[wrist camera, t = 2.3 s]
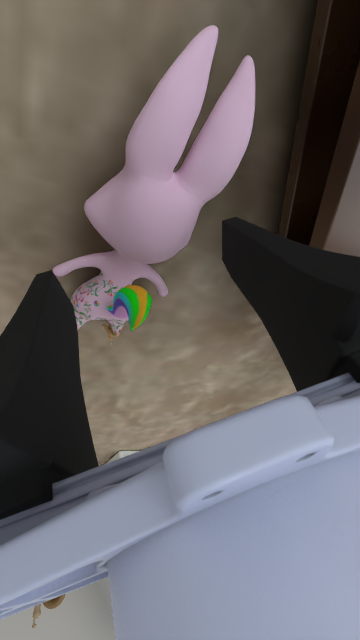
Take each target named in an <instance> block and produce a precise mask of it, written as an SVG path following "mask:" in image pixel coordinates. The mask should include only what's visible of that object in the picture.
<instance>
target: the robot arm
mask: <svg viewBox="0 0 360 640" xmlns="http://www.w3.org/2000/svg"><path fill="white" fill-rule="evenodd" d="M222 260H223V262H224V264H225V266H226V268H227V270H228V272H229V274H230V276H231V278H232V279H233V281H234V282H235V283H236V285H237V286H238V288H239V289H240V290H241V292H242V293H243V295H244V296H245V297H246V299H247V300H248V301H249V303H250V304H251V306H252V307H253V308H254V310H255V311H256V313H257V314H258V316H259V317H260V319H261V320H262V322H263V324H264V326H265V327H266V329H267V331H268V333H269V335H270V336H271V338H272V340H273V342H274V344H275V346H276V348H277V350H278V352H279V354H280V356H281V358H282V360H283V362H284V364H285V366H286V368H287V370H288V372H289V374H290V376H291V379H292V381H293V383H294V385H295V388H296V390H297V392H295V393H293V394H290V395H287V396H285V397H281V398H277V399H274V400H272V401H269V402H266V403H264V404H261V405H258V406H256V407H253V408H250V409H248V410H245V411H242V412H240V413H237V414H234V415H232V416H229V417H226V418H224V419H221V420H218V421H216V422H213V423H210V424H208V425H205V426H202V427H200V428H197V429H194V430H192V431H190V432H188V433H186V434H184V435H181V436H178V437H176V438H173V439H170V440H168V441H165V442H162V443H160V444H157V445H154V446H152V447H149V448H146V449H144V450H141V451H138V452H136V453H133V454H130V455H128V456H125V457H122V458H120V459H117V460H114V461H112V462H109V463H106V464H104V465H101V466H98V462H97V458H96V453H95V449H94V445H93V441H92V436H91V431H90V427H89V422H88V417H87V412H86V407H85V402H84V396H83V390H82V385H81V377H80V365H79V345H78V328H77V322H76V316H75V312H74V307H73V305H72V303H71V301H70V300H69V298H68V296H67V295H66V293H65V291H64V290H63V288H62V286H61V285H60V283H59V281H58V279H57V278H56V276H55V274H54V273H53V271H52V270H51V271H47V272H44V273H40V274H37V275H36V276H35V278H34V280H33V282H32V283H31V285H30V287H29V289H28V291H27V293H26V295H25V297H24V298H23V300H22V302H21V304H20V306H19V307H18V309H17V311H16V313H15V314H14V316H13V317H12V319H11V321H10V322H9V324H8V325H7V327H6V328H5V330H4V332H3V333H2V334H1V336H0V620H1V619H3V618H5V617H8V616H11V615H13V614H15V613H18V612H21V611H23V610H26V609H28V608H31V607H33V606H36V605H38V604H41V603H43V602H46V601H48V600H51V599H53V598H56V597H58V596H61V595H64V594H66V593H69V592H71V591H73V590H76V589H79V588H81V587H83V586H86V585H89V584H91V583H94V582H96V581H98V580H101V579H104V578H106V577H109V585H110V594H111V602H112V612H113V620H114V630H115V639H116V640H360V257H358V256H351V255H346V254H341V253H336V252H331V251H326V250H322V249H318V248H315V247H311V246H308V245H304V244H301V243H298V242H295V241H293V240H290V239H287V238H284V237H282V236H279V235H277V234H274V233H272V232H270V231H267V230H265V229H263V228H261V227H258V226H256V225H254V224H252V223H249V222H247V221H245V220H242V219H240V218H237V217H234V218H230V219H227V220H224V221H222Z"/></svg>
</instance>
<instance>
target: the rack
mask: <svg viewBox="0 0 360 640" xmlns="http://www.w3.org/2000/svg"><path fill="white" fill-rule="evenodd" d="M278 235H279V236H282V237H284V238H287V239H290V240H293V241H295V242H298V243H301V244H304V245H308V246H311V247H315V248H318V249H322V250H326V251H331V252H336V253H341V254H346V255H351V256H358V257H360V0H318V2H317V8H316V14H315V20H314V25H313V31H312V37H311V43H310V49H309V55H308V61H307V67H306V73H305V79H304V85H303V91H302V97H301V103H300V109H299V115H298V121H297V127H296V132H295V138H294V144H293V150H292V156H291V162H290V168H289V174H288V180H287V186H286V192H285V198H284V204H283V210H282V216H281V222H280V228H279V234H278Z"/></svg>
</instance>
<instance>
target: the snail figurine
mask: <svg viewBox="0 0 360 640" xmlns="http://www.w3.org/2000/svg"><path fill="white" fill-rule="evenodd" d="M64 597H65V594H64V595H61V596H58V597H56V598H53V599H51V600H48V601H46V602H43V604H44V606H45V607H47V608H49V609H53V608H56V607H57V606H58V605H60V604H61V602H62V601H63V599H64ZM40 606H41V604H38V605H36V606H35V608H34V612H33V618H34V619H37V618H38V617H39V616H40V614H41V610H40ZM33 621H34V620H33ZM34 622H35V621H34ZM35 627H36V624H35V623H33V625H32V628H35Z"/></svg>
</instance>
